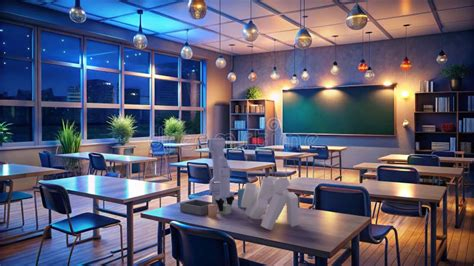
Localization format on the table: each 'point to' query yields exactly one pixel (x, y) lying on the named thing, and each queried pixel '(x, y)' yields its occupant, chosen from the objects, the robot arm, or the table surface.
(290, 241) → the table surface
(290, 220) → the pile of blocks
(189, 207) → the tote
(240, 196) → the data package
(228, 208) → the sage cube
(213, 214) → the terracotta cylinder
